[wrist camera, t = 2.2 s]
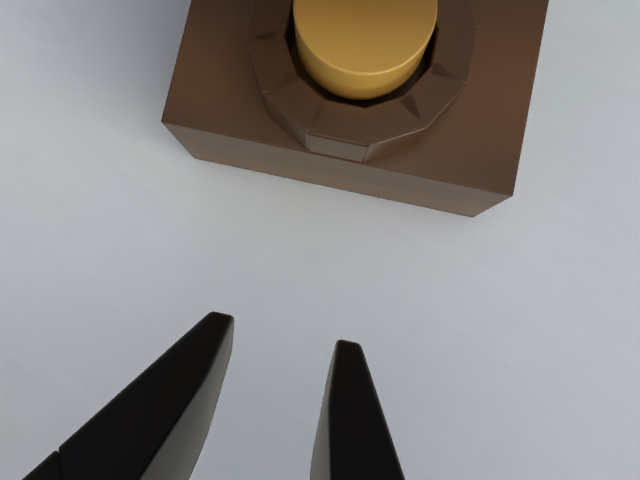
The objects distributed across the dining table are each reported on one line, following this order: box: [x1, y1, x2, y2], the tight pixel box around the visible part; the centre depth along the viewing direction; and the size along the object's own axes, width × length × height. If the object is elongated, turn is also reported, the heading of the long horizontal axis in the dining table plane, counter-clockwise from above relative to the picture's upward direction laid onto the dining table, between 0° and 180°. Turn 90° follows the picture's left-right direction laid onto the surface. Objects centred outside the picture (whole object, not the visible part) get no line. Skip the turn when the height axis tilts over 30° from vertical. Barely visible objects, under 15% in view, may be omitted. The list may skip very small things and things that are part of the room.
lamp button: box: [293, 0, 437, 100], centre depth 17 cm, size 4×4×2 cm
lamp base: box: [161, 0, 549, 217], centre depth 21 cm, size 13×12×7 cm
